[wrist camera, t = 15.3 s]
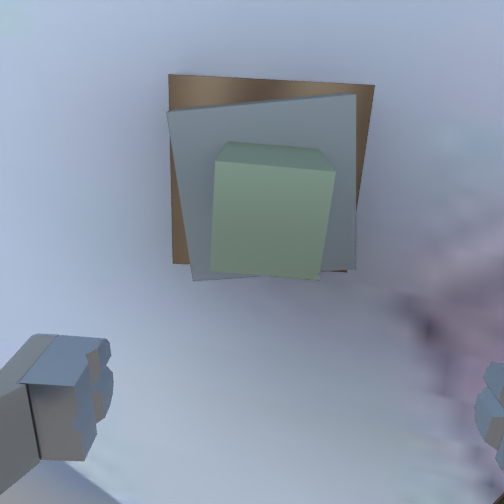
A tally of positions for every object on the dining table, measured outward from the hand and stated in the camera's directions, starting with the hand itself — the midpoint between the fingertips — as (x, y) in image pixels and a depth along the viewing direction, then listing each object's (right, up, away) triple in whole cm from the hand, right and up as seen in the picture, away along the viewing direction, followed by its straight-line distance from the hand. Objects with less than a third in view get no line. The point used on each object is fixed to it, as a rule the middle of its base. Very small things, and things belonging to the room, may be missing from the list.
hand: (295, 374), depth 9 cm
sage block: (0, +6, +15) cm, 16 cm away
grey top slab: (0, +7, +18) cm, 19 cm away
